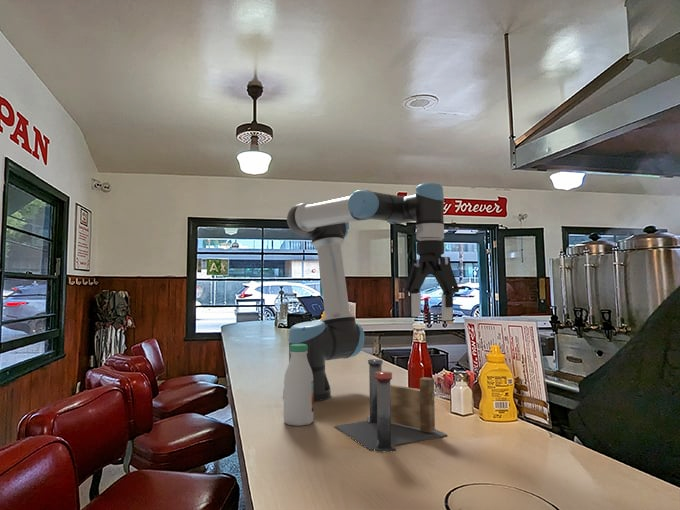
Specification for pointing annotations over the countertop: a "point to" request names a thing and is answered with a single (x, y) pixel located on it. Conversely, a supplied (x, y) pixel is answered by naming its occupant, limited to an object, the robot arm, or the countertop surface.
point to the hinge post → (373, 388)
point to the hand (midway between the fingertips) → (430, 318)
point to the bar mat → (399, 433)
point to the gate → (414, 405)
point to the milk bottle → (298, 388)
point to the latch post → (383, 412)
